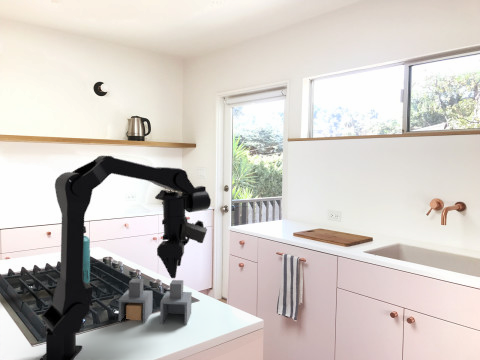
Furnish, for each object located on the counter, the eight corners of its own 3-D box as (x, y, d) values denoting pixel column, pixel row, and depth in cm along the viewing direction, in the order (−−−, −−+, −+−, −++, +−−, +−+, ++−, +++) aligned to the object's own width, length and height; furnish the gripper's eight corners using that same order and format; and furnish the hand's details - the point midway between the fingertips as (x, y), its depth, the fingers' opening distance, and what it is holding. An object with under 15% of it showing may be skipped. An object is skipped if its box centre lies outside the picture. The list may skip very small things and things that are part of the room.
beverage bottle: (82, 291, 116) (82, 228, 114) (64, 289, 117) (63, 227, 115) (94, 284, 122) (94, 225, 120) (77, 282, 123) (76, 223, 122)
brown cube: (141, 320, 97) (141, 306, 96) (126, 320, 97) (126, 305, 97) (145, 314, 101) (145, 300, 100) (131, 313, 101) (131, 299, 101)
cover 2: (186, 324, 95) (187, 287, 94) (160, 323, 95) (160, 286, 94) (191, 313, 102) (191, 278, 101) (166, 312, 102) (166, 277, 101)
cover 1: (145, 323, 95) (145, 285, 94) (118, 322, 95) (118, 284, 95) (152, 311, 102) (152, 276, 101) (127, 310, 102) (127, 275, 102)
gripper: (202, 222, 88) (203, 284, 89) (206, 208, 106) (207, 260, 108) (155, 222, 87) (157, 285, 89) (168, 208, 106) (170, 260, 107)
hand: (175, 271), depth 98 cm, fingers open, 9 cm apart
